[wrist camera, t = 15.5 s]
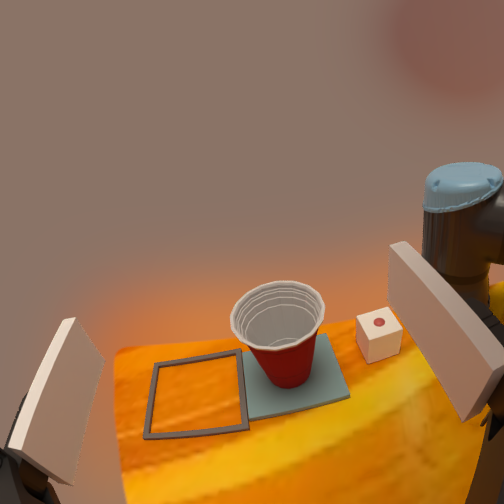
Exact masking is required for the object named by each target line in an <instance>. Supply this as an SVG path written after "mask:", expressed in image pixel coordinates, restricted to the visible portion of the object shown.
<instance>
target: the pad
mask: <svg viewBox="0 0 504 504" xmlns="http://www.w3.org/2000/svg"><path fill="white" fill-rule="evenodd" d="M242 357H243V367H244V377H245V386H246V396H247V406H248V415H249V420H250V421H255V420H260V419H266V418H271V417H276V416H281V415H285V414H290V413H294V412H298V411H303V410H307V409H311V408H315V407H319V406H322V405H326V404H330V403H333V402H337V401H340V400H344V399H347V398H350V392H349V390H348V387H347V385H346V382H345V379H344V377H343V374H342V372H341V369H340V367H339V364H338V362H337V359H336V357H335V354H334V352H333V349H332V347H331V344H330V342H329V339H328V337H327V334H326V333H324V334H320V335H317V336H316V342H315V350H314V356H313V361H312V367H311V372H310V375H309V377H308V379H307V380H306V381H305V383H303V384H302V385H300V386H298V387H295V388H291V389H285V388H280V387H278V386H275V385H274V384H273V383H272V382H271V381H270V379H269V378H268V377H267V375H266V373H265V372H264V370H263V369H262V368H261V366H260V365H259V363H258V361H257V360H256V358H255V357H254V355H253V353H252V352H251V351H247V352H243V353H242Z"/></svg>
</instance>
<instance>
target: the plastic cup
mask: <svg viewBox="0 0 504 504" xmlns="http://www.w3.org/2000/svg"><path fill="white" fill-rule="evenodd" d="M324 311H325V304H324V303H323V300H322V298H321V295H320V294H319V293H318V292H317V291H316V290H314V289H313V288H312V287H310V286H309V285H306V284H303V283H299V282H296V281H275V282H271V283H267V284H263V285H260V286H258V287H256V288H254V289H252V290H251V291H249V292H247V293H246V294H245V295H244V296H243V297H242V298H241V299H240V300H239V301H238V302H237V303H236V304H235V306H234V308H233V310H232V313H231V315H230V321H231V329H232V331H233V332H234V334H235V335H236V336H237V338H238V339H239V340H240V341H241V342H242V343H244V344H246V345H247V346H248V347H249V348H250V350H251V352H252V353H253V355H254V357H255V358H256V360H257V361H258V363H259V365H260V366H261V368H262V369H263V370H264V372H265V373H266V375H267V377H268V378H269V379H270V381H271V382H272V383H273V384H274V385H275V386H278V387H280V388H285V389H291V388H295V387H298V386H300V385H302V384H303V383H305V381H306V380H307V379H308V377H309V375H310V372H311V367H312V361H313V356H314V350H315V342H316V336H317V331H318V328H319V326H320V325H321V324H322V322H323V318H324Z"/></svg>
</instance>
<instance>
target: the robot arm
mask: <svg viewBox="0 0 504 504" xmlns="http://www.w3.org/2000/svg"><path fill="white" fill-rule="evenodd" d="M423 208H424V225H423V243H422V255H420V254H419V253H417V251H416V250H415V249H413V248H412V247H411V246H410V245H409V244H408V243H407V242H406V241H403V242H399V243H395V244H392V245H389V273H388V295H387V300H388V302H389V303H390V305H391V306H392V308H393V309H394V311H395V312H396V314H397V315H398V317H399V318H400V320H401V321H402V323H403V324H404V326H405V327H406V329H407V330H408V332H409V333H410V335H411V336H412V338H413V340H414V341H415V343H416V344H417V346H418V347H419V349H420V351H421V352H422V354H423V355H424V357H425V359H426V360H427V362H428V363H429V365H430V367H431V368H432V370H433V372H434V373H435V375H436V377H437V378H438V380H439V382H440V383H441V385H442V387H443V389H444V390H445V392H446V394H447V395H448V397H449V399H450V401H451V402H452V404H453V406H454V408H455V410H456V411H457V413H458V415H459V417H460V419H461V421H462V422H465V421H467V420H468V419H470V418H472V417H474V416H475V415H477V414H479V413H480V412H481V411H482V410H483V408H484V407H485V405H486V403H488V405H489V407H490V408H491V409H490V411H489V412H488V414H487V415H486V416H485V418H484V419H483V421H482V423H481V425H480V426H484V424H485V423H486V422H487V425H486V430H485V435H484V439H483V444H482V448H481V452H480V456H479V460H478V464H477V467H476V471H475V474H474V478H473V481H472V484H471V487H470V490H469V493H468V496H467V499H466V502H465V504H504V325H503V324H502V323H501V324H500V321H499V320H498V319H497V317H496V316H493V313H492V312H491V311H490V310H489V307H490V296H489V278H488V273H489V269H490V264H491V263H495V264H501V265H504V180H503V176H502V173H501V171H500V170H499V169H498V168H497V167H494V166H492V165H485V164H484V163H477V162H462V163H453V164H448V165H444V166H441V167H438V168H436V169H435V170H433V171H432V172H431V173H430V174H429V175H428V176H427V178H426V181H425V193H424V201H423ZM104 363H105V360H104V358H103V357H102V356H101V354H100V353H99V351H98V350H97V349H96V347H95V346H94V344H93V343H92V341H91V340H90V338H89V337H88V335H87V334H86V332H85V331H84V329H83V328H82V326H81V324H80V323H79V321H78V320H77V318H76V317H75V318H70V319H64V320H63V321H62V323H61V325H60V327H59V329H58V331H57V333H56V335H55V337H54V339H53V341H52V343H51V345H50V347H49V349H48V351H47V353H46V355H45V357H44V359H43V361H42V363H41V365H40V367H39V369H38V372H37V374H36V376H35V378H34V381H33V383H32V385H31V387H30V390H29V391H28V392H27V394H26V395H25V396H24V398H23V399H22V402H21V404H20V407H19V411H18V412H17V414H16V419H14V422H13V425H12V427H11V430H10V433H9V436H8V438H7V442H6V444H5V447H4V449H1V448H0V504H61V503H60V501H59V499H58V497H57V495H56V493H55V490H54V488H53V486H52V485H51V484H50V483H49V482H47V481H48V477H50V478H52V479H53V480H55V481H56V482H58V483H61V484H65V485H70V486H73V484H74V480H75V475H76V470H77V465H78V460H79V456H80V451H81V446H82V442H83V438H84V434H85V430H86V426H87V422H88V418H89V414H90V411H91V407H92V404H93V400H94V396H95V393H96V389H97V386H98V383H99V379H100V376H101V373H102V370H103V367H104Z"/></svg>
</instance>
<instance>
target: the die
mask: <svg viewBox="0 0 504 504" xmlns="http://www.w3.org/2000/svg"><path fill="white" fill-rule="evenodd" d="M402 332H403V328H402V327H401V325H400V324H399V322H398V321H397V319H396V318H395V316H394V315H393V313H392V312H391V310H390V309H389V308H388V307H385V308H382V309H379V310H376V311H372V312H369V313H365V314H362V315H358V316H356V342H357V344H358V346H359V348H360V350H361V352H362V354H363V356H364V358H365V360H366V362H367V364H370V363H373V362H376V361H379V360H382V359H385V358H388V357H390V356H393V355H396V354H399V350H400V345H401V339H402Z"/></svg>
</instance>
